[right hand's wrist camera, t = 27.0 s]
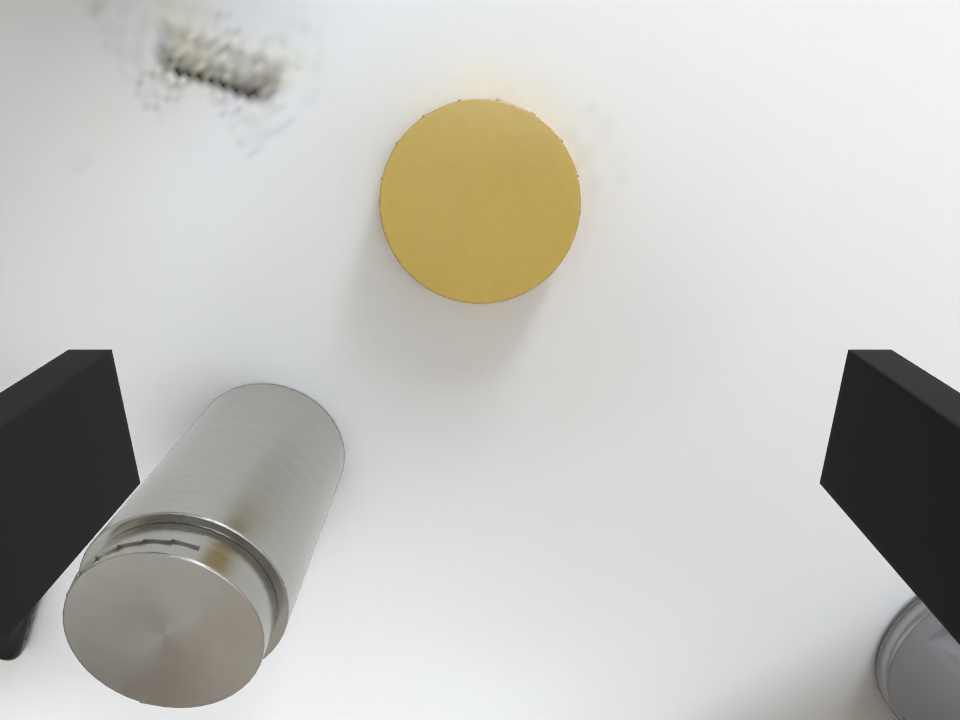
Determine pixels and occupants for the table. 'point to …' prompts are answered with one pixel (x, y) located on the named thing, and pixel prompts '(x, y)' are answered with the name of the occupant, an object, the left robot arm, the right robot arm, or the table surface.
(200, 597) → the jar
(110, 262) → the table surface
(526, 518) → the table surface
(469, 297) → the lid
